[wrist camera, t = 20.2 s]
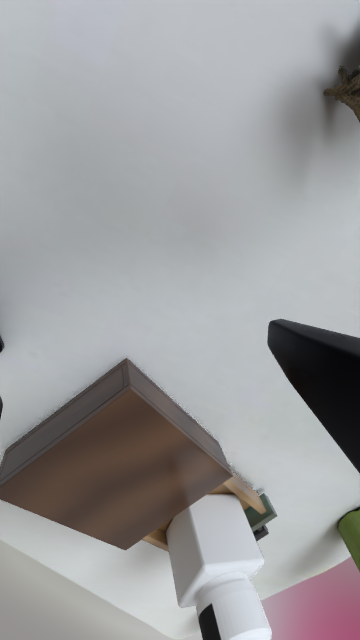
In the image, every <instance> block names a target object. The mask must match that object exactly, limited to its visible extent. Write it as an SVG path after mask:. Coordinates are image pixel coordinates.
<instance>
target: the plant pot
mask: <svg viewBox="0 0 360 640" xmlns="http://www.w3.org/2000/svg"><path fill="white" fill-rule="evenodd" d="M338 527H339V528H338V531H339V533H340V535H341V537H342V539H343V540H344V542H345V544H346V546H347V548H348V550H349V552H350V554H351V556H352V558H353V560H354V562H355V564H356V565H357V567H358V569H359V571H360V509H359V510H358V511H352V512H349V513H348V514H347V515H346V516H345V517H344V518H343V519H341V521H340V522H339V524H338Z"/></svg>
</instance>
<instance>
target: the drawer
mask: <svg viewBox="0 0 360 640" xmlns="http://www.w3.org/2000/svg"><path fill="white" fill-rule="evenodd" d="M231 472H232V471H231ZM232 474H233V477H231V478H230V479H229V480H227V481H226V482H224V483H223V484H221V485H220V486H218V487H217V488H216V489H214V490H213V491H211V492H210V493H208V494H236V495H237V496H238V499H239V501H240V503H241V506H242V508H243V510H244V513H245V515H246V518H247V520H248V522H249V525H250V527H251V529H252V532H253V534H254V536H255V539H256V541H258V540H260V539H261V538H263V537H264V536H266V535H267V534H268V533H269V532H268V529H267V527H266V526H265V524H266V523H267V522H269V521H270V520H272V519H274V518H275V517H277V514H276V512H275V510H274V508H273V506H272V504H271V502H270V500H269V499H268V497H267V496H266V495H265V494H264V493H263V494H262V495H260V496H259V495H258V493H257V492H255V491H254V490H253V489H252V488H251V487H250V486H248V485H247V484H246V483H245V482H244V481H243V480H242V479H240V478H239V477H238V476H237V475H236V474H235V473H233V472H232ZM172 519H173V518H172ZM172 519H170V520H169V521H168V522H166V523H165V524H163V525H162V526H160V527H159V528H157V529H156V530H155V531H153V532H152V533H150V534H149V535H147V536H146V537H144V538H143V539H142V540H144V541H146V542H148V543H151V544H153V545H155V546H157V547H159V548H162V549H164V550H166V551H168V552H169V548H168V542H167V537H166V531H167V529H168V527H169V525H170V523H171V521H172Z"/></svg>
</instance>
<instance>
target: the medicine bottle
mask: <svg viewBox="0 0 360 640" xmlns="http://www.w3.org/2000/svg"><path fill="white" fill-rule="evenodd" d="M166 537H167V542H168V548H169V554H170V560H171V566H172V571H173V577H174V583H175V589H176V595H177V600H178V605H179V607H181V608H184V607H190V606H196V605H197V606H196V610H197V615H198V619H199V624H200V629H201V633H202V638H203V640H271V634H272V632H271V628H270V626H269V623H268V620H267V618H266V615H265V612H264V610H263V607H262V604H261V601H260V599H259V596H258V593H257V591H256V588H255V585H254V583H253V582H251V580H252V578H253V577H254V576H255V574H256V573H257V572H258V571H259V569H260V568H261V567H262V565H263V564H264V558H263V555H262V553H261V551H260V548H259V546H258V544H257V541H256V539H255V536H254V534H253V532H252V529H251V527H250V525H249V522H248V520H247V518H246V515H245V513H244V510H243V508H242V506H241V503H240V501H239V499H238V496H237V495H236V494H207V495H205V496H204V497H202V498H201V499H200V500H198V501H197V502H195V503H194V504H192V505H191V506H189V507H188V508H186V509H185V510H184V511H182V512H181V513H179V514H178V515H176V516H175V517H173V519H172V521H171V523H170V525H169V527H168V529H167V531H166Z"/></svg>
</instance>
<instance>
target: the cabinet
mask: <svg viewBox="0 0 360 640" xmlns="http://www.w3.org/2000/svg"><path fill="white" fill-rule="evenodd" d="M231 477H233V474H232V472H231V470H230V467H229V465H228V463H227V461H226V458H225V456H224V454H223V451H222V449H221V447H220V445H219V443H218V442H217V441H216V440H215V439H214V438H213V437H212V436H211V435H210V434H209V433H207V432H206V431H205V430H204V429H203V428H202V427H201V426H200V425H199V424H198V423H197V422H196V421H194V420H193V419H192V418H191V417H190V416H189V415H188V414H187V413H186V412H185V411H184V410H183V409H182V408H180V407H179V406H178V405H177V404H176V403H175V402H174V401H173V400H172V399H171V398H170V397H169V396H167V395H166V394H165V393H164V392H163V391H162V390H161V389H160V388H159V387H158V386H157V385H156V384H154V383H153V382H152V381H151V380H150V379H149V378H148V377H147V376H146V375H145V374H144V373H143V372H141V371H140V370H139V369H138V368H137V367H136V366H135V365H134V364H133V363H132V362H131V361H130V360H128V359H127V358H126V359H125V360H123V361H122V362H121V363H120V364H118V365H117V366H116V367H114V368H113V369H112V370H110V371H109V372H108V373H106V374H105V375H104V376H102V377H101V378H100V379H99V380H97V381H96V382H95V383H93V384H92V385H91V386H89V387H88V388H87V389H85V390H84V391H83V392H82V393H80V394H79V395H78V396H76V397H75V398H74V399H72V400H71V401H70V402H68V403H67V404H66V405H64V406H63V407H62V408H61V409H59V410H58V411H57V412H55V413H54V414H53V415H51V416H50V417H49V418H47V419H46V420H45V421H43V422H42V423H41V424H40V425H38V426H37V427H36V428H34V429H33V430H32V431H30V432H29V433H28V434H26V435H25V436H24V437H22V438H21V439H20V440H19V441H17V442H16V443H15V444H13V445H12V446H11V447H9V448H8V449H7V450H6V452H5V454H4V457H3V460H2V462H1V465H0V499H1V500H3V501H6V502H8V503H11V504H13V505H15V506H18V507H20V508H23V509H25V510H28V511H30V512H33V513H35V514H38V515H40V516H42V517H45V518H47V519H50V520H52V521H55V522H57V523H60V524H62V525H64V526H67V527H69V528H72V529H74V530H77V531H79V532H82V533H84V534H87V535H89V536H91V537H94V538H96V539H99V540H101V541H104V542H106V543H109V544H111V545H113V546H116V547H118V548H121V549H123V550H127V549H128V548H130V547H131V546H133V545H134V544H136V543H137V542H139V541H140V540H141V539H143V538H144V537H146V536H147V535H149V534H150V533H152V532H153V531H155V530H156V529H157V528H159V527H160V526H162V525H163V524H165V523H166V522H168V521H169V520H170V519H172V518H173V517H175V516H176V515H178V514H179V513H181V512H182V511H184V510H185V509H186V508H188V507H189V506H191V505H192V504H194V503H195V502H197V501H198V500H200V499H201V498H202V497H204V496H205V495H207V494H208V493H210V492H211V491H213V490H214V489H216V488H217V487H218V486H220V485H221V484H223V483H224V482H226V481H227V480H229V479H230V478H231Z"/></svg>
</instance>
